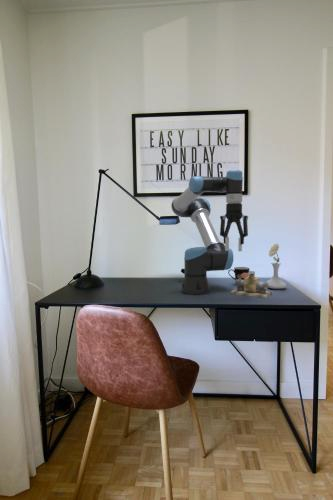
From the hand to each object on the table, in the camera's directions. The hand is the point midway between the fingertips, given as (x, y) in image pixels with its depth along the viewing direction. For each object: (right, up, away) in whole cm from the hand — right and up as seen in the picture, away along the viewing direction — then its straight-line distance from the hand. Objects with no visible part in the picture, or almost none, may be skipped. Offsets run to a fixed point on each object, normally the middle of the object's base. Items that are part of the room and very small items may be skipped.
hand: (233, 250), depth 159 cm
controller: (-18, -19, +40) cm, 48 cm away
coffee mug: (+10, -20, +29) cm, 37 cm away
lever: (+8, -12, +2) cm, 15 cm away
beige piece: (+11, -22, +7) cm, 26 cm away
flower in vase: (+27, -21, +19) cm, 39 cm away
